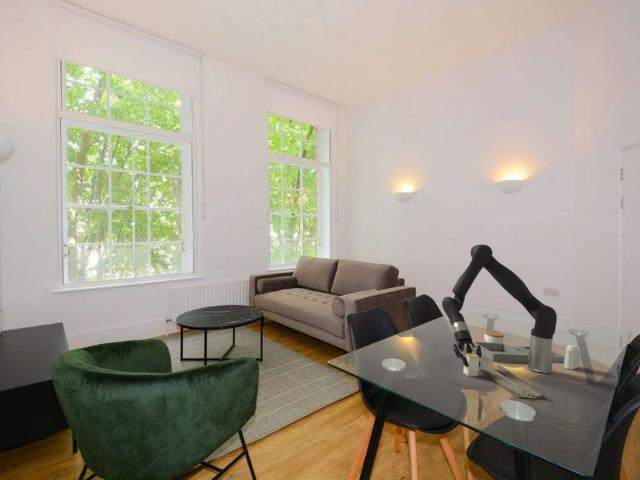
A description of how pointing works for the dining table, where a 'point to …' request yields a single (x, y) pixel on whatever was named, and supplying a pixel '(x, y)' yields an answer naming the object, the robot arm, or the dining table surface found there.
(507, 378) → the rail board
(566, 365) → the white ridged block
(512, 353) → the large tray rim
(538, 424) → the dining table surface
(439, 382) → the dining table surface
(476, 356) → the block
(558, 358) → the small tray rim
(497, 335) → the lidded jar
